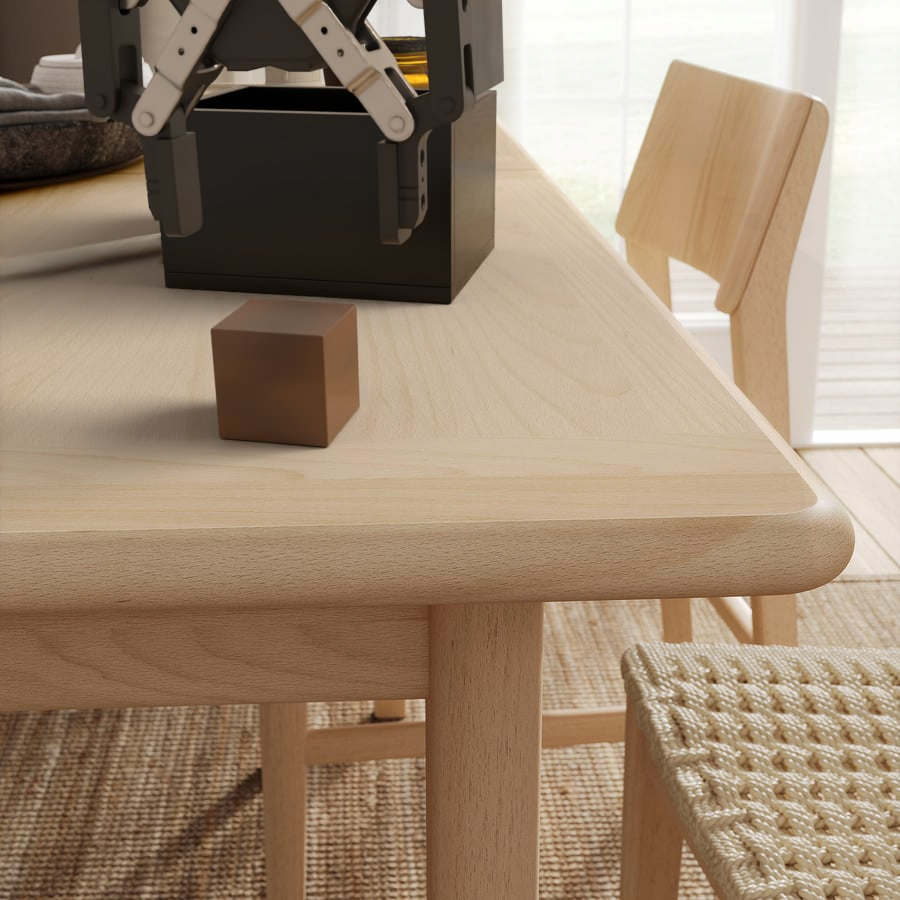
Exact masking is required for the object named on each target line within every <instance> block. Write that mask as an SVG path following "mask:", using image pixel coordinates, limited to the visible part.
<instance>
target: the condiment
mask: <svg viewBox="0 0 900 900" xmlns="http://www.w3.org/2000/svg"><path fill="white" fill-rule="evenodd" d="M380 38H381V39H382V40H383V42H384V43H385V45H386V46H387V47H388V49H389V50H390V51H391V53H392V54H393V56H394V57H395V59H396V61H397V64H398V68H399V69H400V71H401V72H402V74H403V75H404V77H405V78H406V79H407V81H408V82H409V83H410V85H411V86H412V88H424V89H429V84H428V70H427V56H426V42H425V36H420V35H416V36H415V35H413V36H412V35H398V36H396V35H395V36H390V35H389V36H380ZM364 47H365V49H366V48H367V46H366V45H365V44H364Z"/></svg>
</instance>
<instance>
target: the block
mask: <svg viewBox="0 0 900 900" xmlns="http://www.w3.org/2000/svg"><path fill="white" fill-rule="evenodd" d="M357 307H358V305H357V304H355V303H343V302H342V303H341V302H328V301H327V302H325V301H310V300H308V301H307V300H293V299H275V298H259V297H253V298H251V299H249V300H248V301H246V302H245V303H244V304H242V305H241V306H240V307H239V308H237V309H235V310H234V311H233V312H231V313H230V314H229V315H227V316H226V317H225V318H223V319H222V320H221V321H219V322H218V323H216V324H214V326H212V327H211V328H210V341H211V352H212V365H213V366H212V367H213V378H214V389H215V390H214V391H215V401H216V414H217V415H216V416H217V424H218V425H217V427H218V437H219V438H220V439H226V440H227V439H228V440H229V439H230V440H239V441H252V442H264V443H276V444H287V445H300V446H313V447H324V448H327V447H329V446H330V445H331V444H332V443H333V441H334V440H335V438H337V436H338V435H339V433H341V431H342V430H343V429H344V427H345V426H346V425H347V424H348V422H349V421H350V420H351V419H352V417H353V416H354V415H355V414H356V413H357V411H358V410H359V409H360V406H361V403H360V402H361V400H360V372H359V371H360V369H359V339H358V311H357V309H358V308H357Z"/></svg>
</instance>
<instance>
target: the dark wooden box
mask: <svg viewBox="0 0 900 900" xmlns="http://www.w3.org/2000/svg"><path fill="white" fill-rule="evenodd" d="M413 89H414V90H415V92H416V93H417V95H418V96H420V95H422V94H425V93H427V92H429V89H424V88H413ZM497 97H498V90H497V89H489V90H487V91H486V92H484V93H482V94H480V95H479V96H477V101H476V105H475V107H474V109H473V110H472V111H471V112H469V113H468V114H466V115H465V116H463V117H461V118H460V119H458V120H456V121H455V122H452V123H448V124H445V125H442V126H440V127H437V128H434V129H432V131H431V132H430V133H429V135H428V138H427V144H426V151H427V211H426V213H425V216H424V219H423V221H422V222H421V223H420V224H419V225H418V226H417V227H416V228H415V229H412V231H411V235H410V237H409V238H408V239H407V240H406V241H405V242H404V243H402V244H401V245H400V244H382V242H381V239H380V218H379V186H378V154H377V143H379V142H381V141H383V140H384V139H385V134H384V133H383V132H382V130H381V129H380V128H379V126H378V125H377V123H376V122H375V121H374V119H373V118H372V117H371V115H370V114H369V113H368V111H367V110H366V109H365V107H364V106H363V104H362V103H361V102H360V100H359V99H358V98H357V97H356V96H355V95H354V94H353V93H351V92H350V91H349V90H347V89H346V88H345V87H332V86H325V85H323V86H285V85H265V84H240V85H235V86H232V87H227V88H224V89H220V90H216V91H212V92H209V93H204V94H203V96H202V97H201V99H200V101H199V102H198V104H197V106H196V107H195V109H194V111H193V112H192V114H191V115H190V117H189V119H188V120H187V122H186V132H195V136H196V147H197V158H198V170H199V181H200V192H201V203H202V214H203V221H202V226H201V228H200V230H198V231H196V232H195V233H193V234H191V235H189V236H187V237H169V236H166V234H165V232H164V229H163V222H162V221H158V224H159V232H160V244H161V255H162V263H163V264H162V265H163V271H164V273H163V275H164V286H165V288H171V289H189V290H204V291H205V290H206V291H207V290H208V291H221V292H222V291H224V292H240V293H241V292H242V293H258V294H274V295H275V294H276V295H294V296H311V297H329V298H347V299H361V300H362V299H363V300H377V301H378V300H380V301H397V302H413V303H414V302H415V303H431V304H449V305H450V304H452V303H453V302H454V301H455V299H456V298H457V296H458V295H459V294H460V293H461V291H462V290H463V289H464V287H466V285H467V284H468V283H469V282H470V280H471V278H472V277H473V276H474V274H475V273H476V272H477V271H478V269H479V268H481V265H482V264H483V263H484V261H486V260H487V258H488V257H489V255H490V254H491V252H492V251H493V250H494V249H495V242H496V241H495V240H496V239H495V238H496V236H495V233H496V175H497V174H496V173H497V171H496V170H497V160H496V159H497V106H498V105H497V104H498V102H497V101H498V100H497V99H498V98H497Z"/></svg>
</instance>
